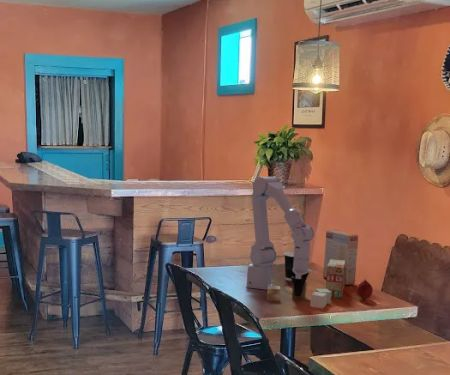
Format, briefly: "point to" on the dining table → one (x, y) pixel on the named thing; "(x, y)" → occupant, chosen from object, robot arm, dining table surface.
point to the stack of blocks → (335, 277)
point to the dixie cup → (289, 265)
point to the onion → (364, 290)
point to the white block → (318, 299)
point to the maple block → (273, 293)
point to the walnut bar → (301, 294)
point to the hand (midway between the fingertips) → (299, 293)
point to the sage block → (326, 293)
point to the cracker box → (342, 252)
